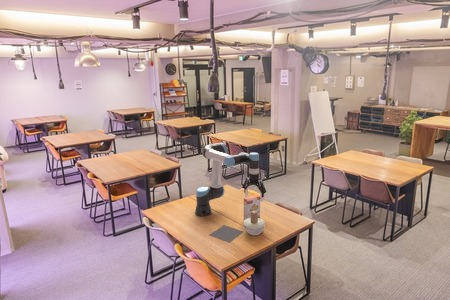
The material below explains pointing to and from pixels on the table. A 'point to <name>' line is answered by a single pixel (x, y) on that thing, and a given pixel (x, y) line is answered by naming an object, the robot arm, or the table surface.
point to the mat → (226, 233)
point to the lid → (254, 221)
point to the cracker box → (251, 206)
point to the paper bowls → (254, 231)
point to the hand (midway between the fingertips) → (254, 199)
